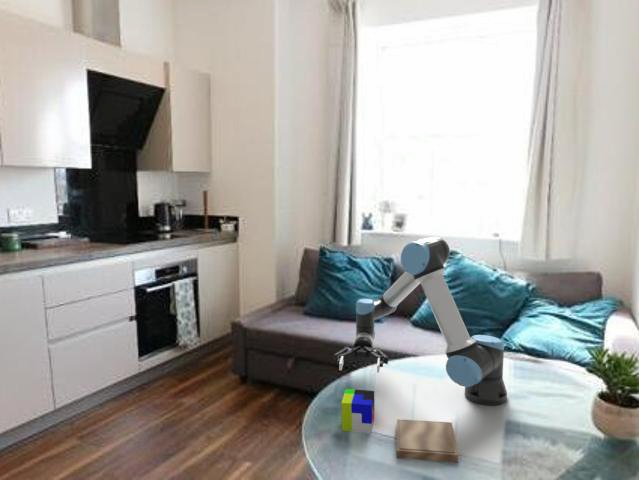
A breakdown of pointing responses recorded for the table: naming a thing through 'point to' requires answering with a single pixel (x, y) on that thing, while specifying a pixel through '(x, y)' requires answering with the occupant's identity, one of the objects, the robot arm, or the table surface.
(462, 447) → the table surface
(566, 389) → the table surface
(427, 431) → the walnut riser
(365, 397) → the puzzle toy
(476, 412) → the table surface
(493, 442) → the table surface
